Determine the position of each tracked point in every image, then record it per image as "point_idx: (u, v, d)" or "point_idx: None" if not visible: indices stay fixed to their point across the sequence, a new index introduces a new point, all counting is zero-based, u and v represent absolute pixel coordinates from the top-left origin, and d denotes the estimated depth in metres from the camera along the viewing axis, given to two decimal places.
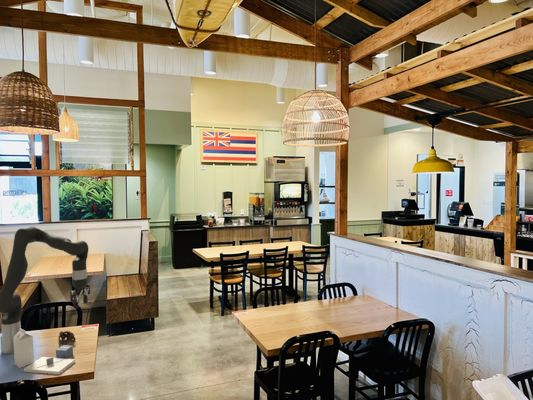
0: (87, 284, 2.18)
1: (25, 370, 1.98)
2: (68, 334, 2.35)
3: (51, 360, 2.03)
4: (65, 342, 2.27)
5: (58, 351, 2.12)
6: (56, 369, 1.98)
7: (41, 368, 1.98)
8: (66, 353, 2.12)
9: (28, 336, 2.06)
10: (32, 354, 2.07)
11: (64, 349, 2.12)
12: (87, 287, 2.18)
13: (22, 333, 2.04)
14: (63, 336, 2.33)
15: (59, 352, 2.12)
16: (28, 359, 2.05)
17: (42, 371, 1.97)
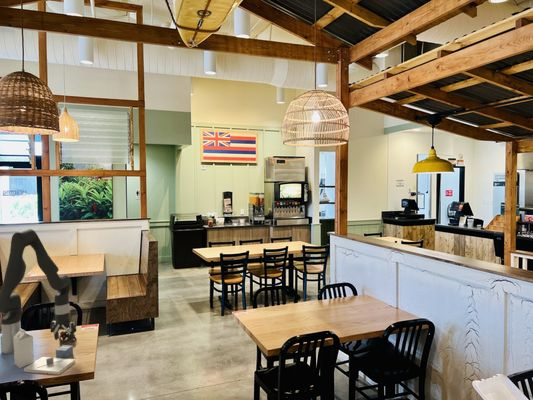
0: (53, 321, 2.14)
1: (25, 370, 1.98)
2: None
3: (51, 360, 2.03)
4: (66, 342, 2.27)
5: (58, 351, 2.12)
6: (56, 369, 1.98)
7: (41, 368, 1.98)
8: (66, 353, 2.12)
9: (28, 336, 2.06)
10: (32, 354, 2.07)
11: (64, 349, 2.12)
12: None
13: (22, 333, 2.04)
14: (64, 336, 2.34)
15: (59, 352, 2.12)
16: (28, 359, 2.05)
17: (42, 371, 1.97)
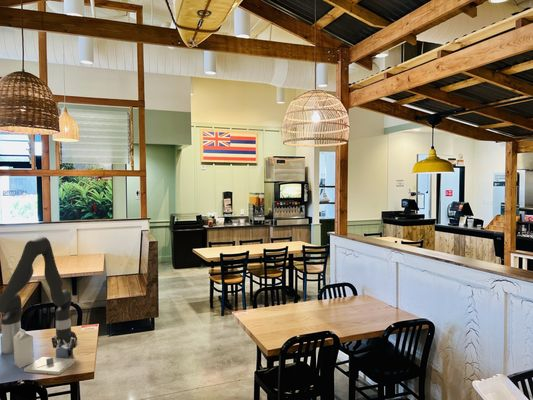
0: (54, 336, 2.15)
1: (25, 370, 1.98)
2: None
3: (51, 360, 2.03)
4: None
5: (58, 351, 2.12)
6: (56, 369, 1.98)
7: (41, 368, 1.98)
8: (66, 353, 2.12)
9: (28, 336, 2.06)
10: (32, 354, 2.07)
11: (64, 349, 2.12)
12: None
13: (22, 333, 2.04)
14: None
15: (59, 352, 2.12)
16: (28, 359, 2.05)
17: (42, 371, 1.97)
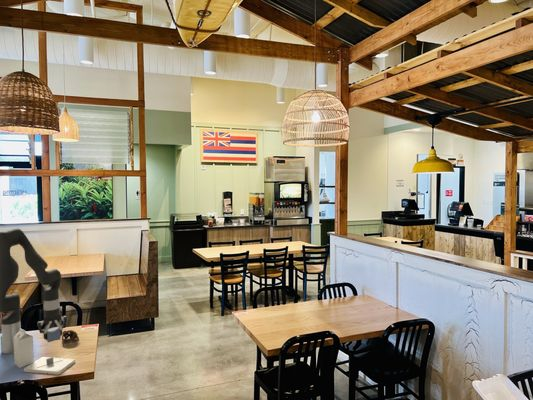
0: (39, 321, 2.01)
1: (25, 370, 1.98)
2: (71, 333, 2.36)
3: (51, 360, 2.03)
4: (69, 341, 2.28)
5: (51, 333, 2.01)
6: (56, 369, 1.98)
7: (41, 368, 1.98)
8: None
9: (28, 336, 2.06)
10: (32, 354, 2.07)
11: (56, 330, 2.04)
12: None
13: (22, 333, 2.04)
14: (66, 335, 2.35)
15: (52, 334, 2.02)
16: (28, 359, 2.05)
17: (42, 371, 1.97)
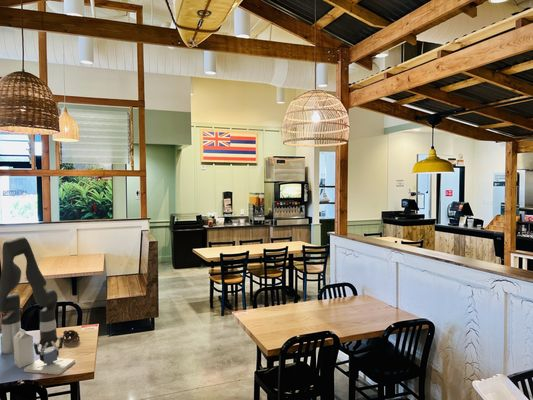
0: (35, 343, 1.99)
1: (25, 370, 1.98)
2: (72, 333, 2.36)
3: None
4: (70, 341, 2.28)
5: (47, 355, 1.99)
6: (56, 369, 1.98)
7: (41, 368, 1.98)
8: (56, 354, 2.03)
9: (28, 336, 2.06)
10: (32, 354, 2.07)
11: (53, 351, 2.02)
12: None
13: (22, 333, 2.04)
14: (67, 335, 2.35)
15: (48, 355, 2.00)
16: (28, 359, 2.05)
17: (42, 371, 1.97)
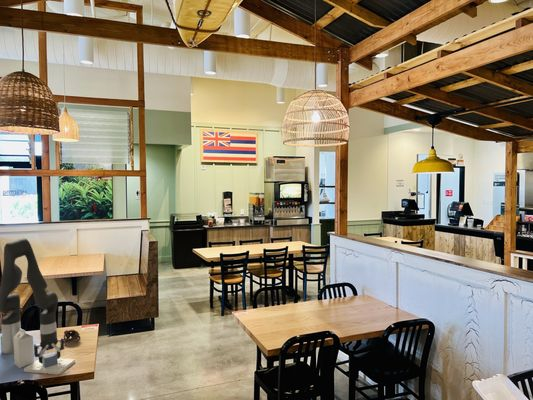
0: (35, 344, 1.99)
1: (25, 370, 1.98)
2: (73, 333, 2.37)
3: None
4: (71, 341, 2.29)
5: (47, 359, 2.00)
6: (56, 369, 1.98)
7: (41, 368, 1.98)
8: None
9: (28, 336, 2.06)
10: (32, 354, 2.07)
11: (53, 355, 2.03)
12: None
13: (22, 333, 2.04)
14: (68, 335, 2.35)
15: (49, 359, 2.00)
16: (28, 359, 2.05)
17: (42, 371, 1.97)
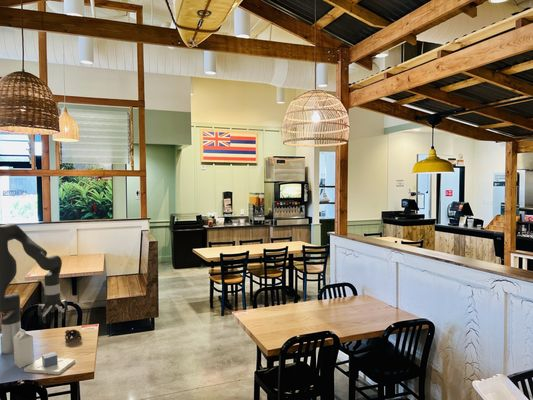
0: (40, 304, 2.07)
1: (25, 370, 1.98)
2: (74, 332, 2.37)
3: None
4: (72, 340, 2.29)
5: (47, 359, 2.00)
6: (56, 369, 1.98)
7: (41, 368, 1.98)
8: None
9: (28, 336, 2.06)
10: (32, 354, 2.07)
11: (53, 355, 2.03)
12: None
13: (22, 333, 2.04)
14: (69, 334, 2.36)
15: (49, 359, 2.00)
16: (28, 359, 2.05)
17: (42, 371, 1.97)
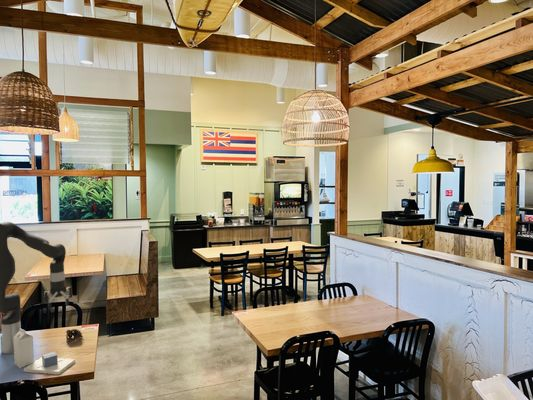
0: (45, 291, 2.15)
1: (25, 370, 1.98)
2: (75, 332, 2.37)
3: None
4: (73, 340, 2.30)
5: (47, 359, 2.00)
6: (56, 369, 1.98)
7: (41, 368, 1.98)
8: None
9: (28, 336, 2.06)
10: (32, 354, 2.07)
11: (53, 355, 2.03)
12: None
13: (22, 333, 2.04)
14: (70, 334, 2.36)
15: (49, 359, 2.00)
16: (28, 359, 2.05)
17: (42, 371, 1.97)
